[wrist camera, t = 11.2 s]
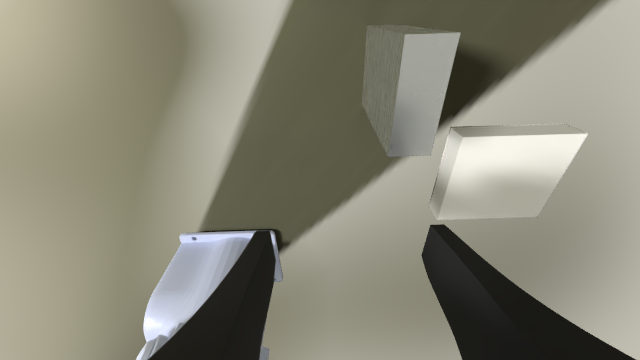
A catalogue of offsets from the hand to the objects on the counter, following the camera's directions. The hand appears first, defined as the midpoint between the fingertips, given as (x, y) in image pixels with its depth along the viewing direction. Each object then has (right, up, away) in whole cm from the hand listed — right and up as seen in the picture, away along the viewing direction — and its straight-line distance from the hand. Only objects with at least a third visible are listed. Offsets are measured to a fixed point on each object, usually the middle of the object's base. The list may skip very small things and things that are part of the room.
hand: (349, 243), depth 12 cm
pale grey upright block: (+3, +11, +6) cm, 12 cm away
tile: (+9, +3, +10) cm, 14 cm away
